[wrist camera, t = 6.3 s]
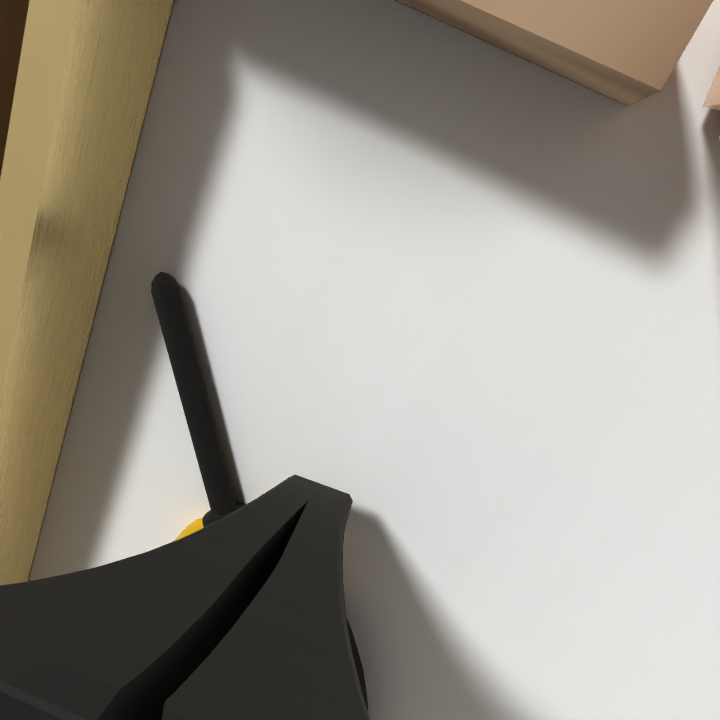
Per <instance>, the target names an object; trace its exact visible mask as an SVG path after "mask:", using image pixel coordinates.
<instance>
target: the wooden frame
mask: <svg viewBox="0 0 720 720" xmlns="http://www.w3.org/2000/svg"><path fill="white" fill-rule="evenodd" d="M396 1H398V2H400V3H402V4H405V5H407V6H409V7H411V8H413V9H416V10H418V11H420V12H422V13H424V14H427V15H429V16H431V17H433V18H435V19H438V20H440V21H442V22H444V23H446V24H449V25H451V26H453V27H455V28H457V29H460V30H462V31H464V32H466V33H468V34H471V35H473V36H475V37H477V38H479V39H482V40H484V41H486V42H488V43H490V44H492V45H495V46H497V47H499V48H501V49H503V50H506V51H508V52H510V53H512V54H514V55H517V56H519V57H521V58H523V59H525V60H528V61H530V62H532V63H534V64H536V65H539V66H541V67H543V68H545V69H547V70H550V71H552V72H554V73H556V74H558V75H561V76H563V77H565V78H567V79H569V80H572V81H574V82H576V83H578V84H580V85H583V86H585V87H587V88H589V89H591V90H594V91H596V92H598V93H600V94H602V95H605V96H607V97H609V98H611V99H613V100H616V101H618V102H620V103H622V104H624V105H627V106H628V105H630V104H632V103H634V102H636V101H639V100H641V99H643V98H645V97H648V96H650V95H652V94H654V93H656V92H659V91H661V89H662V88H663V86H664V84H665V82H666V81H667V79H668V77H669V75H670V74H671V72H672V70H673V69H674V67H675V65H676V63H677V62H678V60H679V58H680V57H681V55H682V53H683V51H684V50H685V48H686V46H687V45H688V43H689V41H690V39H691V38H692V36H693V34H694V33H695V31H696V29H697V27H698V26H699V24H700V22H701V21H702V19H703V17H704V15H705V14H706V12H707V10H708V9H709V7H710V5H711V3H712V2H713V0H396ZM28 6H29V0H0V178H1V172H2V166H3V160H4V154H5V147H6V141H7V135H8V129H9V123H10V117H11V111H12V105H13V98H14V92H15V86H16V80H17V74H18V68H19V62H20V55H21V49H22V43H23V37H24V31H25V25H26V19H27V13H28Z"/></svg>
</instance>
